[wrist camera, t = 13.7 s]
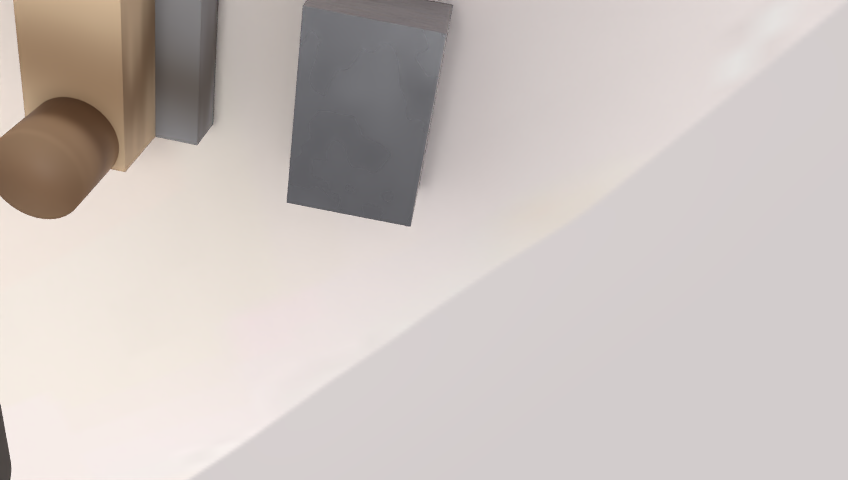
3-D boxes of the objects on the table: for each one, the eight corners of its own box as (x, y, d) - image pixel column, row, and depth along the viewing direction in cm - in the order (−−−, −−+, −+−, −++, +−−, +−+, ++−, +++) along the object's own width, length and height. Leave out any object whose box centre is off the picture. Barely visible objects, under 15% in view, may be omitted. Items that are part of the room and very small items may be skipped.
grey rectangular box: (323, -23, 31) (302, 5, 28) (453, 3, 31) (446, 33, 28) (306, 161, 35) (286, 202, 32) (419, 183, 35) (410, 226, 32)
